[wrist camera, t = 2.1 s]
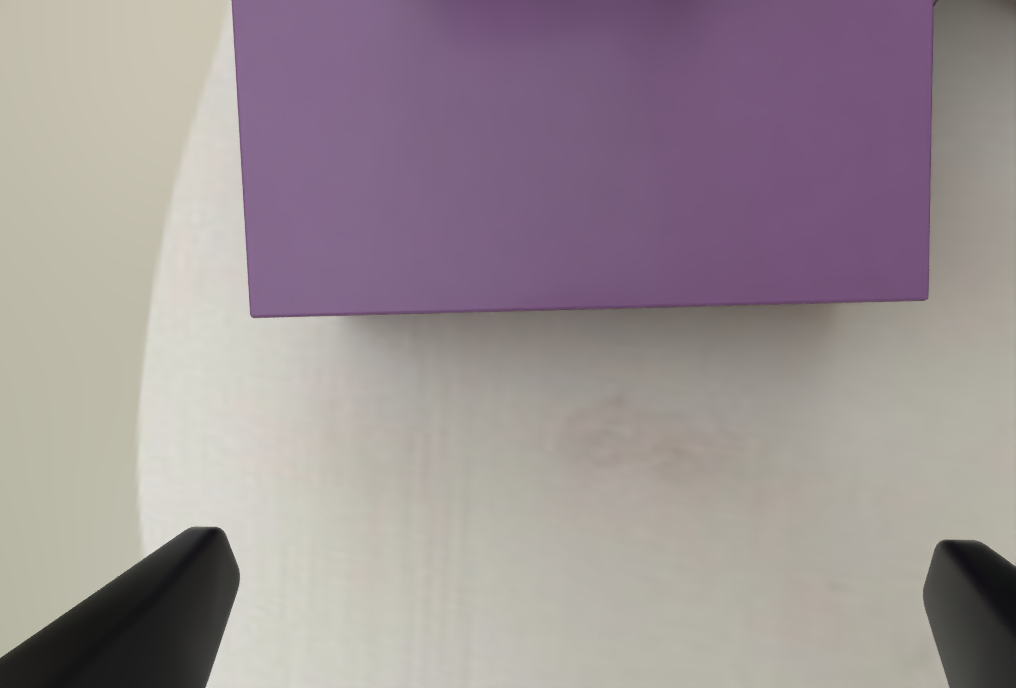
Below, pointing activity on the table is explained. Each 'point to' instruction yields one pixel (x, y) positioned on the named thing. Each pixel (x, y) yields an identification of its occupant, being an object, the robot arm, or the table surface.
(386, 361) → the table surface
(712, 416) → the table surface
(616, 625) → the table surface
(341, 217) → the lid
